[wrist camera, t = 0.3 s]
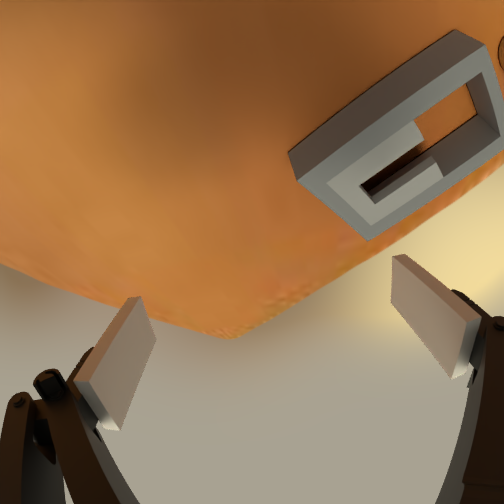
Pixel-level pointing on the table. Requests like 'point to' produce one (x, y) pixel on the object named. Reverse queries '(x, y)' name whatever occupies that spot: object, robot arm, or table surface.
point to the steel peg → (501, 53)
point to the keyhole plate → (403, 137)
